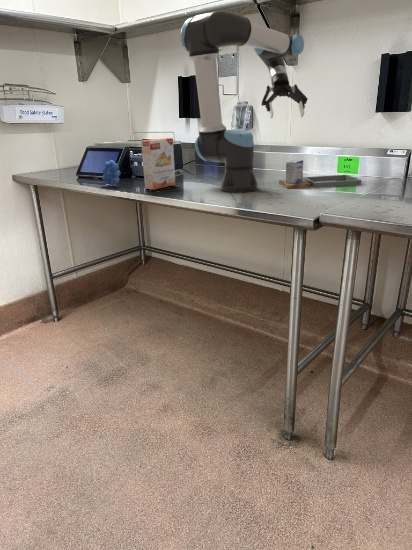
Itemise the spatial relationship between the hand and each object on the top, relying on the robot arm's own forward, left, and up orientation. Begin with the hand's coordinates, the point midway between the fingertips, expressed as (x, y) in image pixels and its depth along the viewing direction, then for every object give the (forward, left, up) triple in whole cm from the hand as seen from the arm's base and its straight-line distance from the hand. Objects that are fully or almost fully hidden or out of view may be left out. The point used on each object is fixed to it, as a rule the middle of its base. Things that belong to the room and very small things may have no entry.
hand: (287, 115), depth 178 cm
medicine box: (0, -14, -26) cm, 30 cm away
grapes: (-79, +10, -28) cm, 84 cm away
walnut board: (0, -14, -28) cm, 31 cm away
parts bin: (+16, -14, -28) cm, 35 cm away
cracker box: (-57, -2, -28) cm, 63 cm away
